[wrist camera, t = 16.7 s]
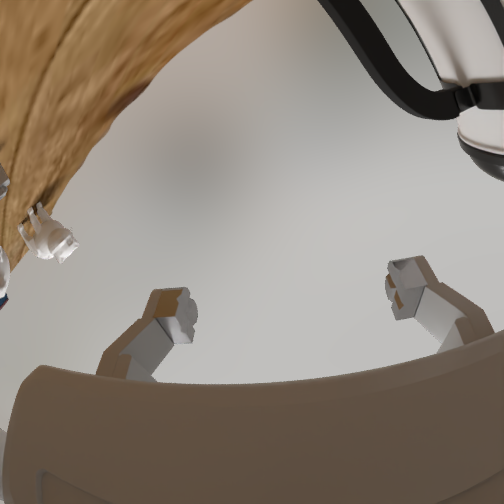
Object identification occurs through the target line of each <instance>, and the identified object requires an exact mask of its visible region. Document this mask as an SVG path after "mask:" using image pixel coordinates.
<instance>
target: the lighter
mask: <svg viewBox="0 0 504 504" xmlns="http://www.w3.org/2000/svg"><path fill="white" fill-rule="evenodd" d="M9 183H10V181H9V178H8V176H7V174H6V173H5V171H4V169H3V167H2V165H1V163H0V200H1V199H2V198H3V197H4V196H5V195H6V192H7V187H6V186H7V185H8V184H9Z"/></svg>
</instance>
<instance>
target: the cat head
mask: <svg viewBox="0 0 504 504" xmlns="http://www.w3.org/2000/svg"><path fill="white" fill-rule="evenodd" d="M9 279H10V266H9V260H8V257H7V255H6V253H5V251H4V250H3V248H2V247H1V246H0V298H1V297H4V296H5V292H6V289H7V287H8V284H9Z"/></svg>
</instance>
